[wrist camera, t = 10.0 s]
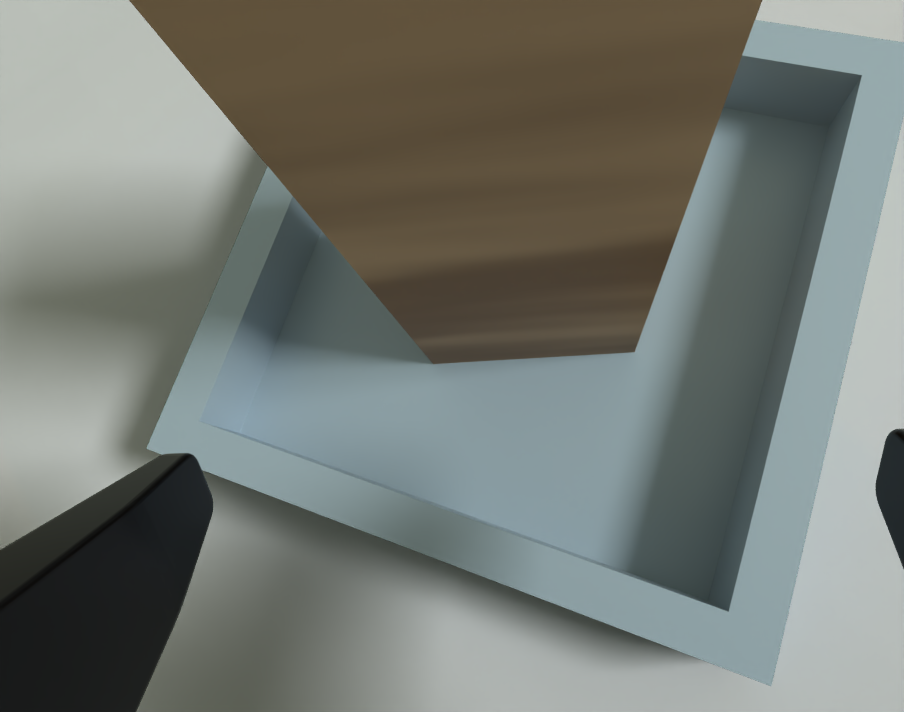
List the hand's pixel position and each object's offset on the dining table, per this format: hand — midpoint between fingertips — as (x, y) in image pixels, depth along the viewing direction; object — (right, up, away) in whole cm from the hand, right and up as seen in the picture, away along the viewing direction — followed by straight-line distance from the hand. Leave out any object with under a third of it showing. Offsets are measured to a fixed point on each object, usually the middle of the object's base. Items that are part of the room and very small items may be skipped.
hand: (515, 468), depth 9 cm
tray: (+1, +3, +9) cm, 9 cm away
